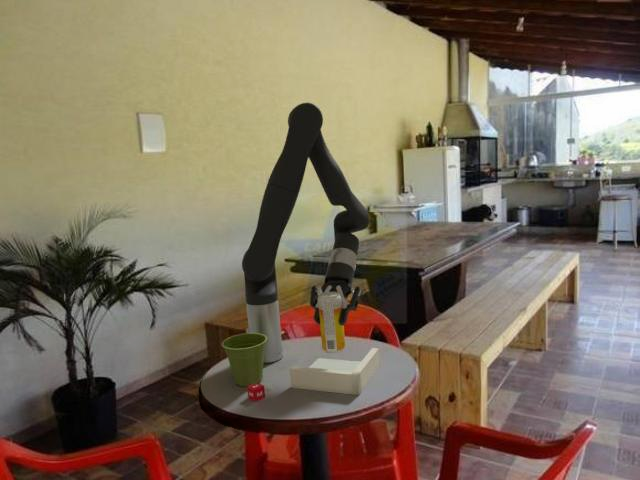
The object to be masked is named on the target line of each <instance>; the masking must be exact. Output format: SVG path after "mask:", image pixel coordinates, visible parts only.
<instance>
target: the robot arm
mask: <svg viewBox="0 0 640 480" xmlns="http://www.w3.org/2000/svg"><path fill="white" fill-rule="evenodd" d="M323 122H324V118H323V113H322V111H321V110H320V108H319V107H318V105H316V104H315V103H313V102H303V103H299V104H297V105H296V106H295V107H294V108H293V109H292V110H291V111H290V112H289V114H288V117H287V125H288V130H287V133H286V138H285V142H284V146H283V148H282V151H281V153H280V155H279V157H278V159H277V161H276V162H275V165H274V167H273V169H272V171H271V172H270V175H269V178H268V181H267V183H266V186H265V189H264V192H263V196H262V199H261V204H260V209H259V213H258V219H257V225H256V228H255V231H254V235H253V237H252V239H251V241H250V244H249V246H248V247H247V248H248V249H246V251H245V252H244V254H243V257H242V259H241V268H242V270H243V274H244V277H243V278H244V286H245V287H244V292H245V295H244V296H245V304H246V305H245V306H246V315H247V322H248V325H247V327H246V329H245V333H259V334H263V335H265V336H267V341H266V342H265V349H264V360H263V364H269V363H274V362H278V361H279V360H281V359H283V357H284V354H283V340H282V331H281V330H282V329H281V319H280V309H279V307H280V306H279V296H278V284H277V272H276V271H277V270H276V259H277V255H278V254H277V253H278V250H279V246H280V243H281V239H282V236H283V234H284V231H285V229H286V227H287V224H288V223H289V220H290V218H291V216H292V214H293V211H294V208H295V206H296V204H297V199H298V197H299V193H300V192H301V191H300V190H301V188H302V184H303V180H304V177H305V176H304V175H305V172H306V169H307V168H306V167H307V164H308V159H309V161H310V162H311V165H312V167H313V169H314V171H315V173H316V175H317V178H318V181H319V182H320V185H321V187H322V189H323V191H324V193H325V195H326V197H327V199H328V202H329V203H330V205H332V206H333V207H334V206H335V207H339V206H341V207H343V208H344V209H345V210H342V211H340V212H338V213H337V214H336V215H335V216H334V219H333V236H334V244H333V246H332V251H331V253H330V257H329V259H328V264H327V266H326V267H327V269H326V272H325V276H324V282H323V284H322V286H320V287H316V285H313V286H312V287H311V292H310V299H309V305H310V306H311V308H312V309H313V311H314V314H313V320H314V322H315V323H316V325H320V318H319V307H318V298H319V295H320V294H321V293H325V292H338V293H339V295H340V296H341V300H342V309H341V313H340V318H339V323H340V325H345V324H346V323H347V321H348V318H349V317H348V316H349V313H350V312H352V311H353V312H356V311H357V308H358V306H359V303H360V300H361V297H362V294H363V292H362V289H361V288H360V286H355V287H353V286H352V285H353V281H354V277H355V271H356V268H357V258H358V257H357V256H358V251H359V247H360V240H359V238H358V237H357V236H356V235H355V234H354V233H357V232H361V231H364V230H366V229H367V228H368V227H369V225H370V221H371V220H370V219H371V218H370V215H369V212H368V210H367V209H366V208H365V206H364V205H363V204H362V202H361V201H360V200H359V199H358V198H357V196H356V195H355V194H354V193H353V191H352V190H351V188H350V185H349V183H348V182H347V181H348V180H347V179H346V177H345V174H344V172H343V171H342V170H341V169H342V168H340V166H339V164H338V162H337V161H336V159H335V158H334V156H333V155H332V153H331V152H330V150H329V148H328V145H327V143H326V142H325V138H324V136H323V132H322V127H323V124H324V123H323ZM351 294H352V296H351V298H350V302H349V303H348V300H347V297H349V296H350V295H351Z"/></svg>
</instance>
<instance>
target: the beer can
mask: <svg viewBox="0 0 640 480" xmlns="http://www.w3.org/2000/svg"><path fill="white" fill-rule="evenodd" d="M318 307H319V318H320V324H319V326H320V328H319V329H320V336H321V349H323V351H324V352H325V353H326V354H337V353H341V352H343V351H344V349H345V348H346V337H345V326H344V325H345V324H344V325H340V323H339V318H340V313H341V309H343V307H342V300H341V296H340V295H339V293H338V292H325V293H323V292H321V293H320V295H319V296H318Z"/></svg>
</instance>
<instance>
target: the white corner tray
mask: <svg viewBox="0 0 640 480" xmlns="http://www.w3.org/2000/svg"><path fill="white" fill-rule="evenodd" d="M380 366H381V361H380V349H379V347H378V348H376V347H372V348H370V350H369V351H368V353H367V354H366V355H365V356H364V357H363V359H362V360H361V361H358V360H357V361H356V360H346V359H335V358H333V359H332V358H331V359H330V358H324V357H323V358H321V357H318V358H317V359H316V360H315V361H314V362H313V363H312V364H310V366H308V367H307V366H297V365H296V366H295V365H293V366H291V367H289V375H290V378H289V379H290V387H291V388H292V389H297V390H298V389H299V390H300V389H301V390H307V391H308V390H309V391H310V390H311V391H318V392H326V393H328V392H329V393H336V394H345V395H354V396H360V395H361V393H362V392H363V391H364V389H365V388H366V386H367V385H368V384H369V382H370V381H371V379H372V378H373V376H374V375H375V373H377V371H378V370H379V368H380Z"/></svg>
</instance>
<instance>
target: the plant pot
mask: <svg viewBox="0 0 640 480" xmlns="http://www.w3.org/2000/svg"><path fill="white" fill-rule="evenodd" d="M266 341H267V336H265V335H263V334H259V333H246V332H244V333H240V334H235V335H232V336H228V337H227V338H225V339H224V340H223V341H222V342H221V347H222V348H223V349H224V352H225V354H226V356H227V359H228V363H229V365H230V370H231V373H232V376H233V379H234V383H235V385H238V386H240V387H248V386H250V385H253V384H255V383H261V382H262V380H263V377H264V375H263V373H264V363H263V360H264V349H265V342H266Z"/></svg>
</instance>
